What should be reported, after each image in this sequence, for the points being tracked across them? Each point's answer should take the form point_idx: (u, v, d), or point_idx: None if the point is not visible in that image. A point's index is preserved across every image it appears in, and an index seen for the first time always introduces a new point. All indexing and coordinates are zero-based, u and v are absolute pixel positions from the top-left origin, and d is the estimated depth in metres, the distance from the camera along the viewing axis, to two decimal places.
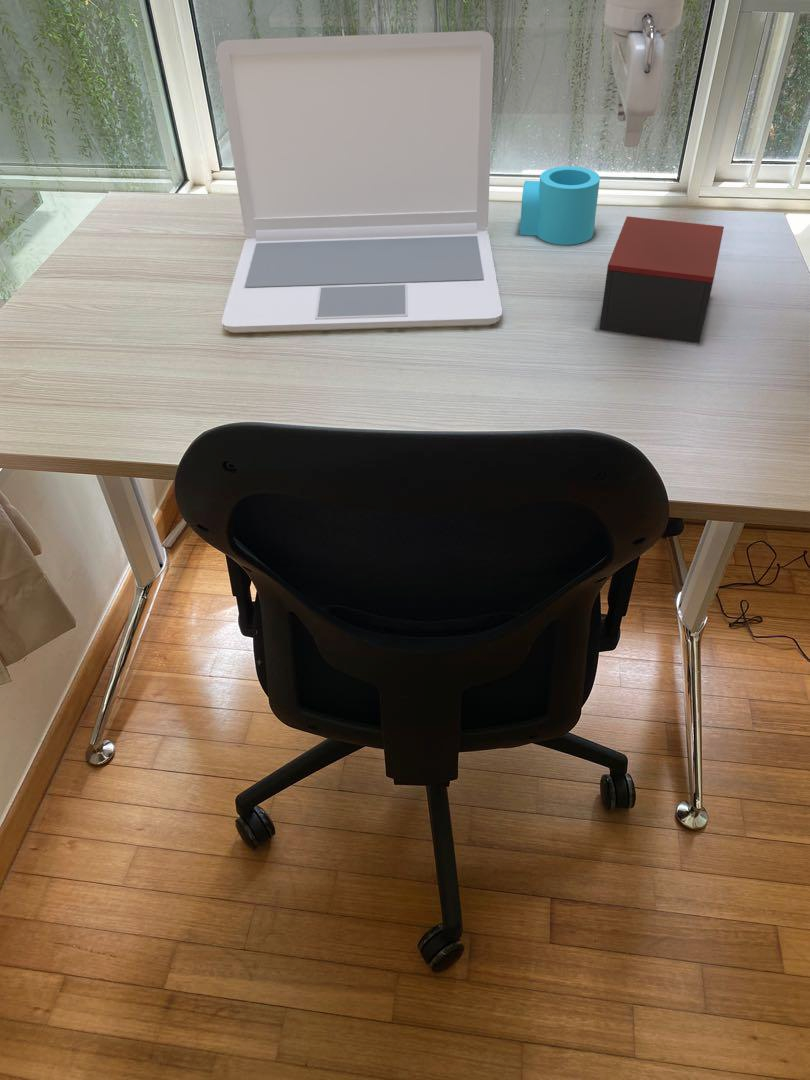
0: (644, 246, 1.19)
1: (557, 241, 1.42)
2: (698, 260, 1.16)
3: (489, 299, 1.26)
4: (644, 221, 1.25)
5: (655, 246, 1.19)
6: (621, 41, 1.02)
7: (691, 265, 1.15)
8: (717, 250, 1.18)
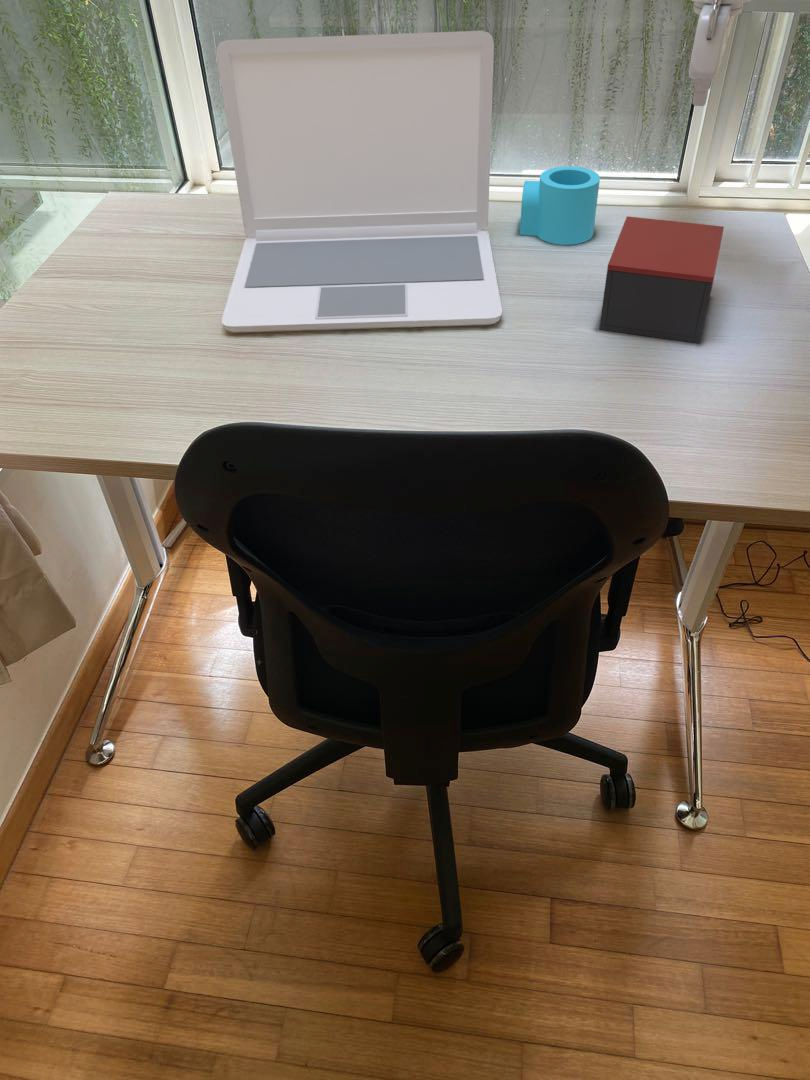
0: (644, 246, 1.19)
1: (557, 241, 1.42)
2: (698, 260, 1.16)
3: (489, 299, 1.26)
4: (644, 221, 1.25)
5: (655, 246, 1.19)
6: (698, 12, 1.15)
7: (691, 265, 1.15)
8: (717, 250, 1.18)
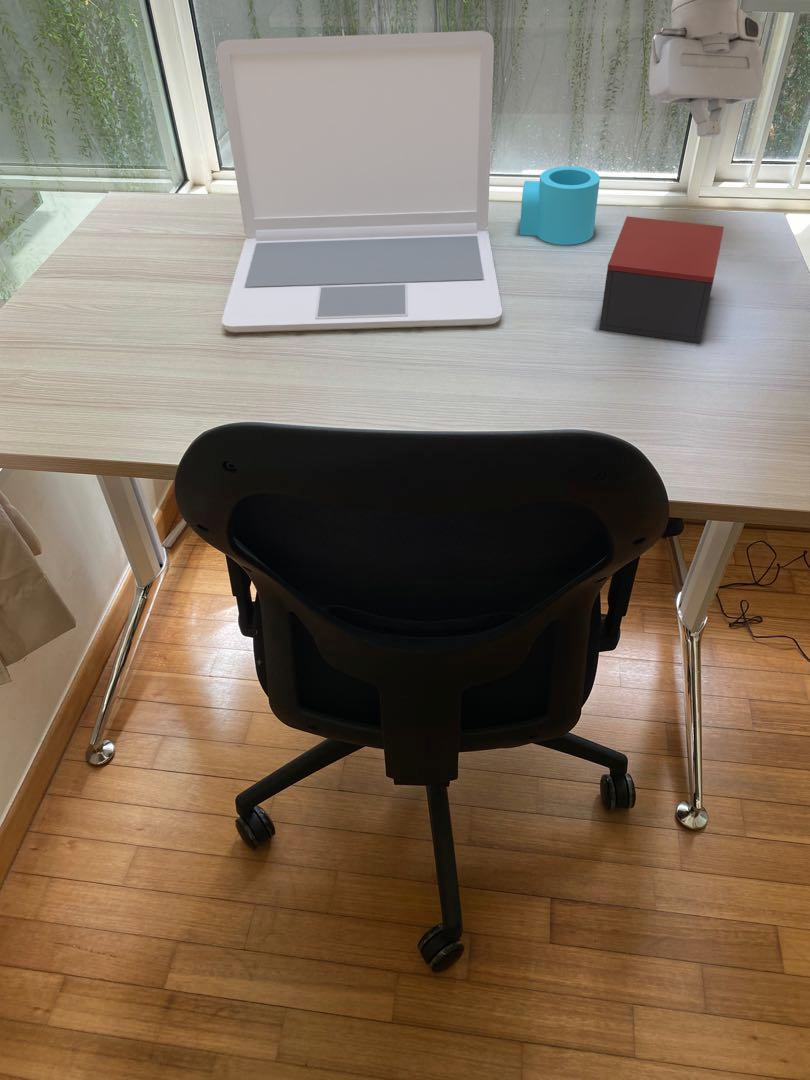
0: (644, 246, 1.19)
1: (557, 241, 1.42)
2: (698, 260, 1.16)
3: (489, 299, 1.26)
4: (644, 221, 1.25)
5: (655, 246, 1.19)
6: None
7: (691, 265, 1.15)
8: (717, 250, 1.18)
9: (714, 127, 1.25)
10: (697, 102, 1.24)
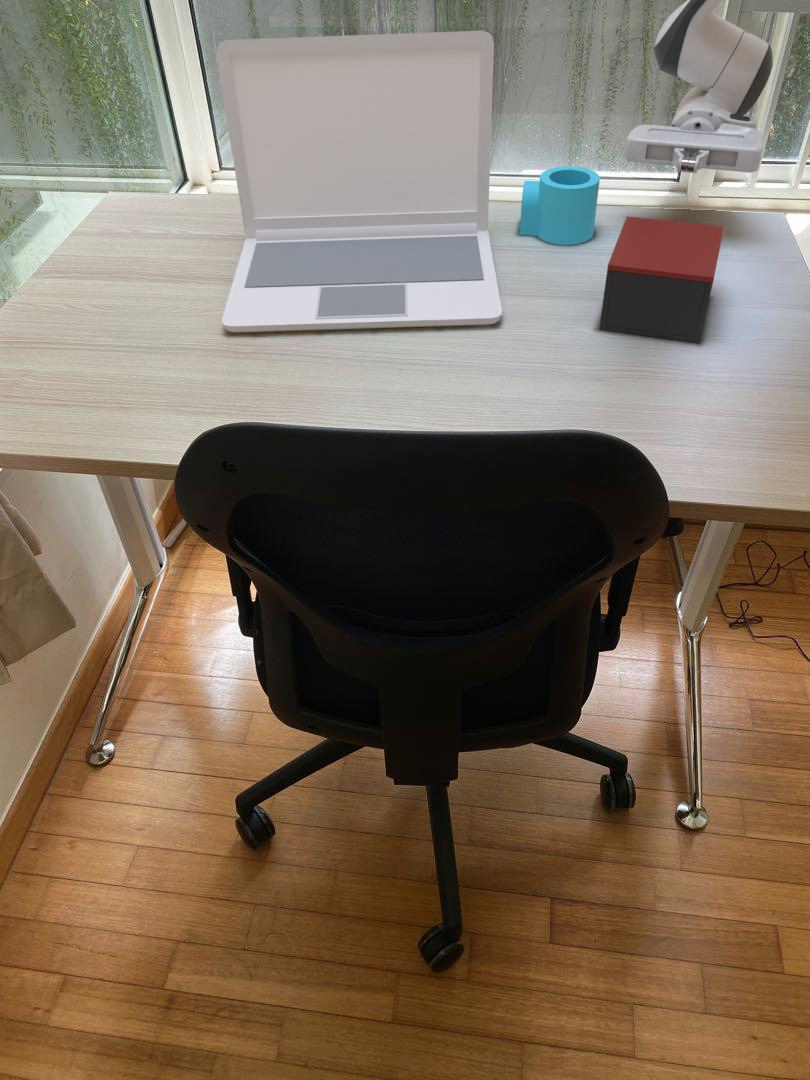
0: (644, 246, 1.19)
1: (557, 241, 1.42)
2: (698, 260, 1.16)
3: (489, 299, 1.26)
4: (644, 221, 1.25)
5: (655, 246, 1.19)
6: None
7: (691, 265, 1.15)
8: (717, 250, 1.18)
9: (690, 159, 1.29)
10: None
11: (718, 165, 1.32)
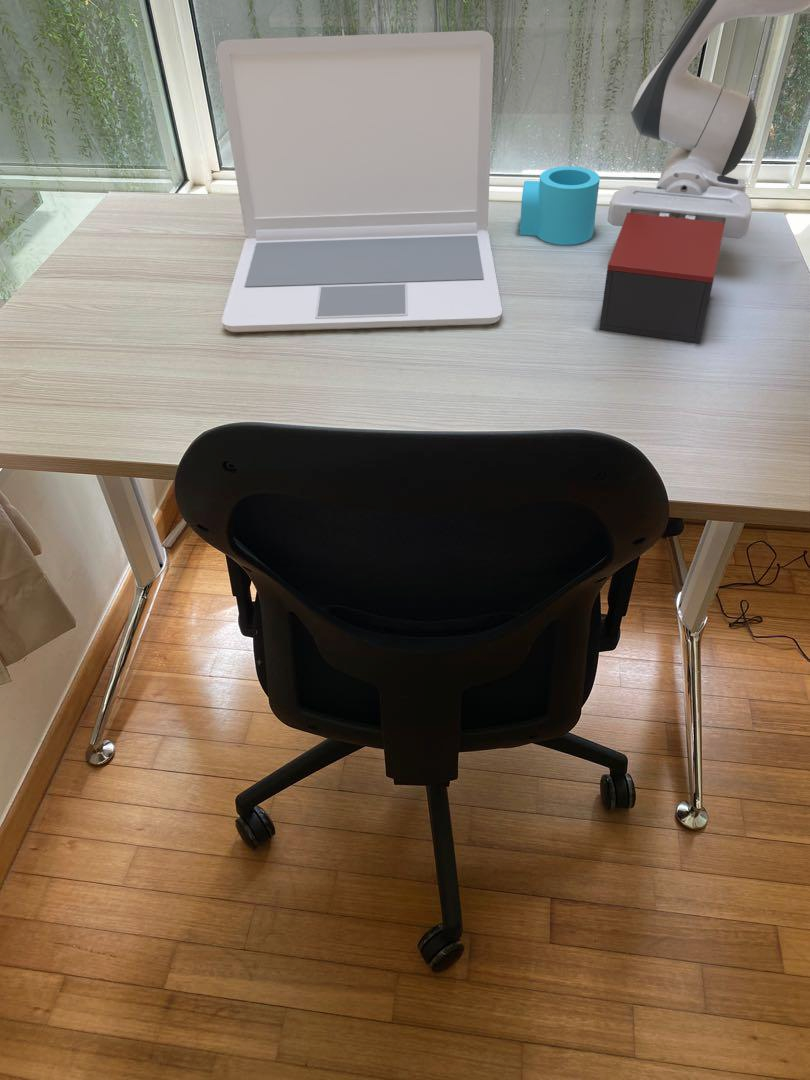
0: (644, 245, 1.19)
1: (557, 241, 1.42)
2: (698, 259, 1.16)
3: (489, 299, 1.26)
4: (645, 218, 1.25)
5: (655, 244, 1.19)
6: None
7: (691, 264, 1.15)
8: (717, 248, 1.18)
9: None
10: None
11: None
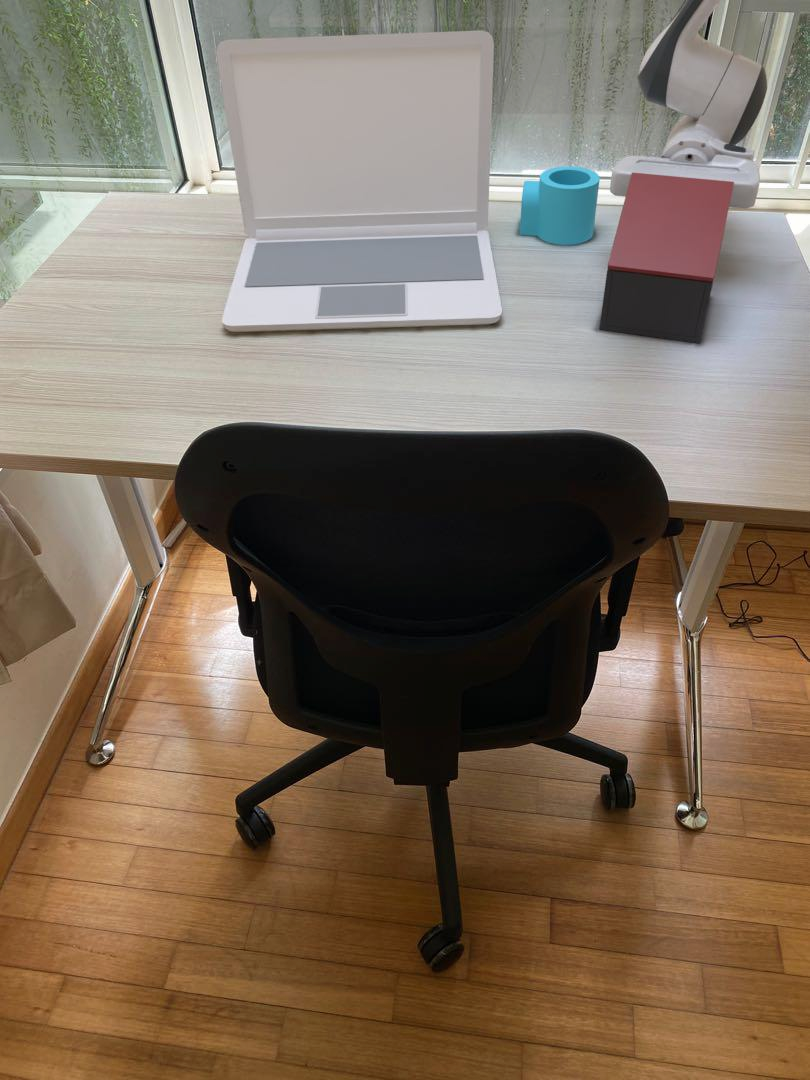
0: (646, 229, 1.17)
1: (557, 241, 1.42)
2: (700, 249, 1.14)
3: (489, 299, 1.26)
4: (650, 180, 1.20)
5: (658, 227, 1.17)
6: None
7: (692, 259, 1.14)
8: (722, 228, 1.15)
9: None
10: None
11: None
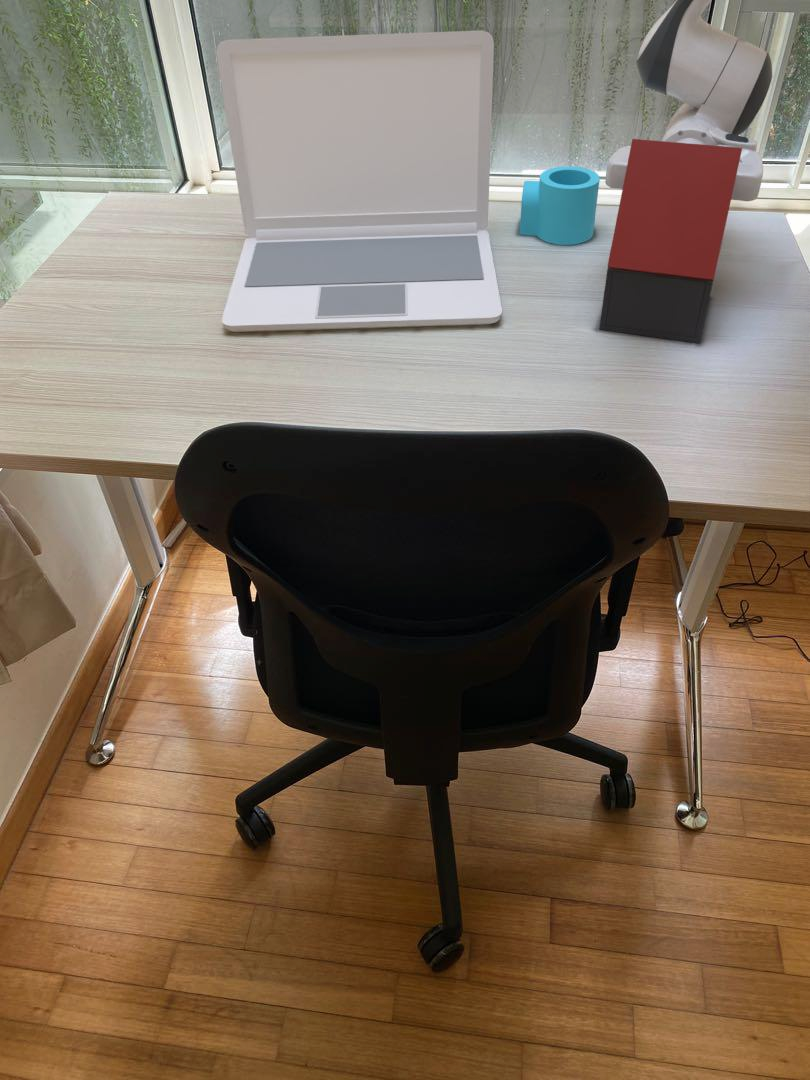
0: (647, 218, 1.13)
1: (557, 241, 1.42)
2: (701, 242, 1.12)
3: (489, 299, 1.26)
4: (651, 150, 1.12)
5: (659, 215, 1.13)
6: None
7: (693, 256, 1.12)
8: (725, 214, 1.11)
9: None
10: None
11: None
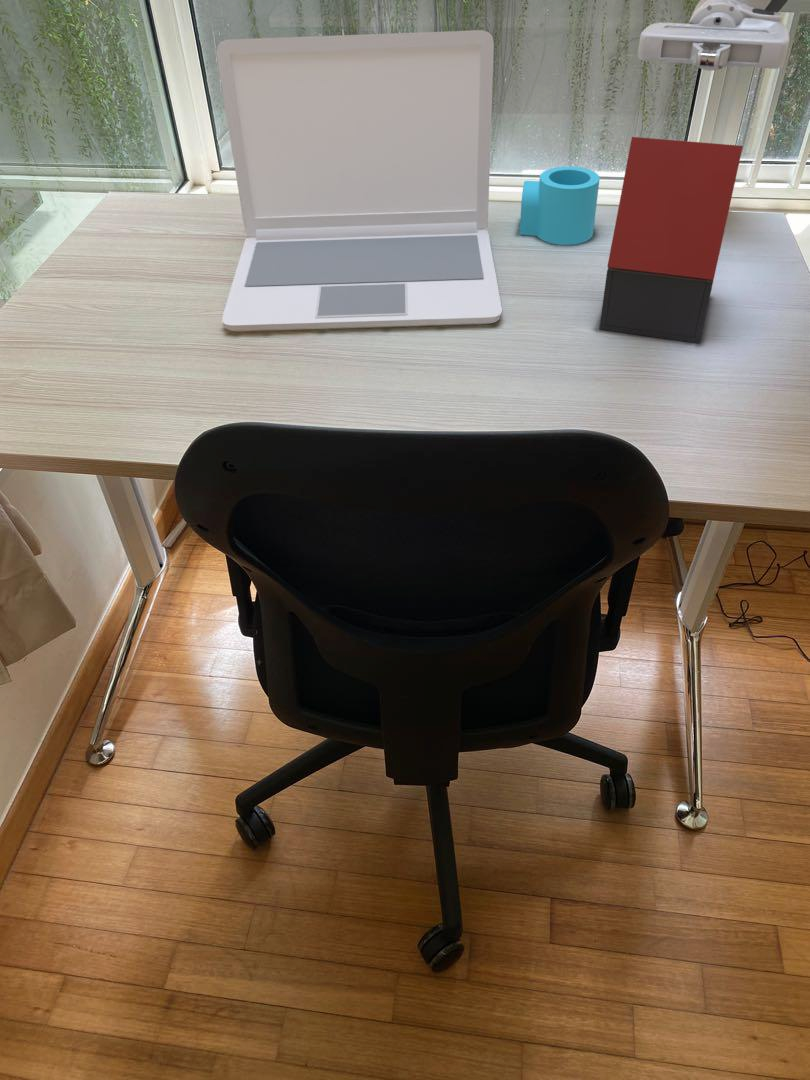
0: (646, 217, 1.13)
1: (557, 241, 1.42)
2: (701, 242, 1.12)
3: (489, 298, 1.26)
4: (651, 148, 1.11)
5: (659, 215, 1.13)
6: None
7: (693, 256, 1.12)
8: (725, 213, 1.10)
9: (710, 52, 1.19)
10: None
11: (740, 62, 1.22)
